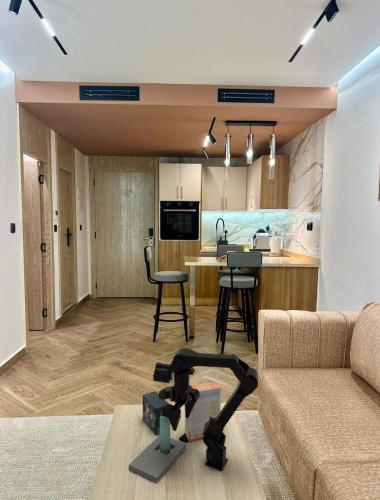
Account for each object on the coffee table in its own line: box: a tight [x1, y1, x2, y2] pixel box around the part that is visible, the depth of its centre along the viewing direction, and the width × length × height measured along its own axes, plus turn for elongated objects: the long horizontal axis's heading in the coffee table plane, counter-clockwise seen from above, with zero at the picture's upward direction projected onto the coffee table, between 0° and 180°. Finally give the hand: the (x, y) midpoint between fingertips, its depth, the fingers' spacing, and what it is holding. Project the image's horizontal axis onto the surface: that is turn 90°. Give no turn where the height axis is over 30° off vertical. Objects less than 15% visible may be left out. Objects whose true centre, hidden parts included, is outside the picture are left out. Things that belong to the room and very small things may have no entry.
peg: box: [159, 416, 171, 455], centre depth 126 cm, size 4×4×14 cm
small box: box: [142, 390, 169, 436], centre depth 144 cm, size 13×7×12 cm, turn 33°
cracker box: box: [184, 381, 222, 442], centre depth 137 cm, size 14×6×21 cm, turn 108°
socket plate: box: [128, 434, 187, 484], centre depth 123 cm, size 12×20×2 cm, turn 151°
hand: (181, 424), depth 124 cm, fingers open, 9 cm apart
